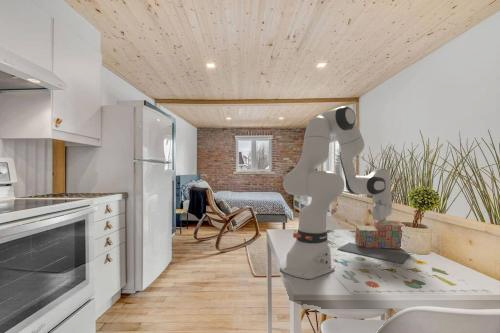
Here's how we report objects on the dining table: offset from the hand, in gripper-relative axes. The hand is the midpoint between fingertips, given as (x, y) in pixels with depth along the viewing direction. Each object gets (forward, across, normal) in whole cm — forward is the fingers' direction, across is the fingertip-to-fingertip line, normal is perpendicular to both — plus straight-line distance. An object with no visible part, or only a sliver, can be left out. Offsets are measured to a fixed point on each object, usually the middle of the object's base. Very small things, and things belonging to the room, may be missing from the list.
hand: (382, 225), depth 129 cm
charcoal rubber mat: (+10, -16, +1) cm, 18 cm away
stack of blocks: (+9, -5, +1) cm, 11 cm away
